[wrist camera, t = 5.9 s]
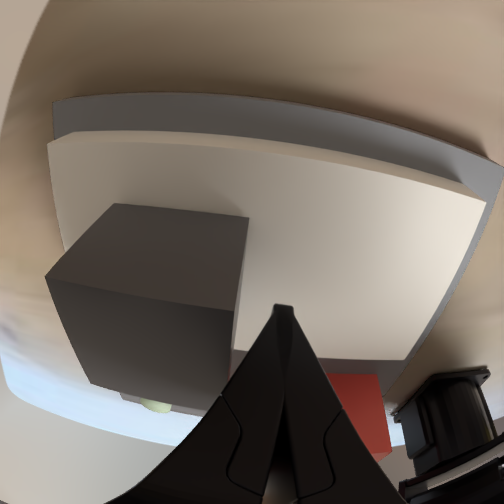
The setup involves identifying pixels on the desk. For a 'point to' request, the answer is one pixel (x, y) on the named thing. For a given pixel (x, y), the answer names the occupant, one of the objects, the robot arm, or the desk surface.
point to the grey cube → (154, 301)
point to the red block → (364, 409)
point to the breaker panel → (291, 210)
